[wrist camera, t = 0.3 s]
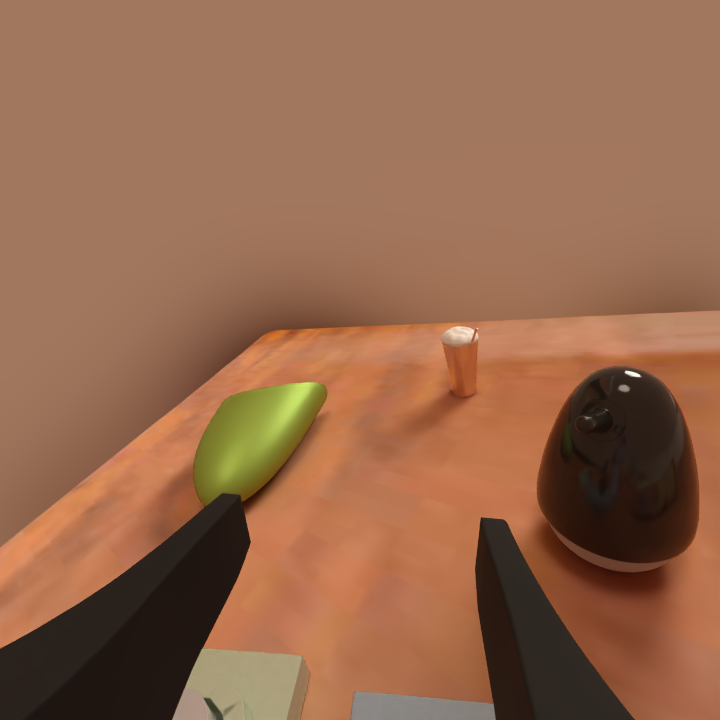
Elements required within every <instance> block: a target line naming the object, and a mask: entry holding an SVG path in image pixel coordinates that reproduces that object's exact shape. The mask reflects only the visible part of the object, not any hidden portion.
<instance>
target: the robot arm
mask: <svg viewBox="0 0 720 720" xmlns="http://www.w3.org/2000/svg"><path fill="white" fill-rule="evenodd" d="M250 543H251V541H250V537H249V532H248V528H247V523H246V518H245V514H244V509H243V505H242V500H241V496H240V495H238V494H227V493H222V494H220V495H219V496H218V497H217V498H216V499H214V500H213V501H212V502H211V503H210V504H208V505H207V506H206V507H205V508H204V509H203V510H201V511H200V512H199V513H198V514H197V515H195V516H194V517H193V518H192V519H191V520H190V521H188V522H187V523H186V524H185V525H184V526H182V527H181V528H180V529H179V530H178V531H176V532H175V533H174V534H173V535H172V536H170V537H169V538H168V539H167V540H166V541H164V542H163V543H162V544H161V545H159V546H158V547H157V548H156V549H154V550H153V551H152V552H150V553H149V554H148V555H146V556H145V557H144V558H143V559H141V560H140V561H139V562H137V563H136V564H135V565H133V566H132V567H131V568H130V569H128V570H127V571H126V572H124V573H123V574H121V575H120V576H119V577H117V578H116V579H114V580H113V581H112V582H110V583H109V584H107V585H106V586H104V587H103V588H101V589H100V590H98V591H97V592H95V593H94V594H92V595H91V596H89V597H88V598H86V599H85V600H83V601H82V602H80V603H79V604H77V605H75V606H74V607H72V608H70V609H69V610H67V611H65V612H64V613H62V614H60V615H59V616H57V617H55V618H54V619H52V620H51V621H49V622H47V623H46V624H44V625H42V626H41V627H39V628H37V629H35V630H34V631H32V632H30V633H28V634H26V635H25V636H23V637H21V638H19V639H17V640H16V641H14V642H12V643H10V644H8V645H6V646H4V647H3V648H1V649H0V720H172V719H173V716H174V714H175V711H176V709H177V706H178V704H179V701H180V699H181V696H182V694H183V691H184V689H185V686H186V684H187V681H188V679H189V676H190V674H191V672H192V669H193V667H194V665H195V663H196V661H197V659H198V656H199V654H200V652H201V650H202V648H203V646H204V644H205V642H206V640H207V638H208V636H209V634H210V632H211V630H212V628H213V626H214V624H215V622H216V620H217V619H218V617H219V615H220V613H221V611H222V609H223V607H224V605H225V603H226V601H227V599H228V597H229V595H230V593H231V591H232V589H233V586H234V584H235V582H236V580H237V578H238V576H239V573H240V571H241V568H242V566H243V563H244V560H245V557H246V555H247V552H248V549H249V546H250ZM475 573H476V589H477V603H478V612H479V618H480V624H481V631H482V637H483V643H484V649H485V655H486V661H487V667H488V673H489V679H490V685H491V691H492V697H493V703H494V711H495V718H496V720H635V719H634V718H633V717H632V716H631V714H630V713H629V712H628V711H627V710H626V708H625V707H624V706H623V704H622V703H621V702H620V701H619V699H618V698H617V697H616V696H615V694H614V693H613V692H612V690H611V689H610V688H609V687H608V685H607V684H606V683H605V681H604V680H603V679H602V677H601V676H600V675H599V673H598V672H597V671H596V669H595V668H594V667H593V665H592V664H591V663H590V661H589V660H588V658H587V657H586V656H585V654H584V653H583V651H582V650H581V649H580V647H579V646H578V644H577V643H576V641H575V640H574V639H573V637H572V636H571V634H570V633H569V631H568V630H567V628H566V627H565V625H564V624H563V622H562V621H561V619H560V618H559V616H558V615H557V613H556V611H555V610H554V608H553V607H552V605H551V603H550V602H549V600H548V599H547V597H546V595H545V593H544V592H543V590H542V588H541V587H540V585H539V583H538V582H537V580H536V578H535V577H534V575H533V573H532V571H531V570H530V568H529V566H528V564H527V562H526V560H525V559H524V557H523V555H522V553H521V551H520V549H519V547H518V545H517V543H516V541H515V539H514V537H513V535H512V533H511V530H510V528H509V526H508V524H507V522H506V521H505V520H503V519H492V518H482V517H481V521H480V530H479V539H478V548H477V557H476V566H475Z"/></svg>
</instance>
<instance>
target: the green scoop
mask: <svg viewBox="0 0 720 720" xmlns="http://www.w3.org/2000/svg"><path fill="white" fill-rule="evenodd" d="M326 398H327V389H326V387H325V386H324V385H323V384H320V383H314V382H306V383H294V384H286V385H279V386H273V387H266V388H260V389H255V390H250V391H245V392H241V393H238V394H235V395H232V396H230V397H228V398H227V399H225V400H224V401H223V403H222V404H221V406H220V407H219V409H218V410H217V412H216V413H215V415H214V416H213V418H212V420H211V421H210V423H209V425H208V426H207V428H206V430H205V432H204V434H203V436H202V438H201V440H200V443H199V445H198V448H197V451H196V455H195V459H194V466H193V480H194V486H195V490H196V493H197V495H198V498H199V499H200V501H201V502H202V503H203V504H204V505H205V506H207V505H208V504H210V503H211V502H212V501H213V500H214V499H216V498H217V497H218V496H219V495H220V494H222V493H227V494H238V495H240V496H241V500H242V502H243V501H245V500H246V499H248V498H249V497H251V496H252V495H253V494H255V493H256V492H257V491H258V490H259V489H261V488H262V487H263V486H264V485H265V484H266V483H267V482H268V481H269V480H270V479H271V478H272V477H273V476H274V475H275V474H276V473H277V471H278V470H279V469H280V468H281V467H282V466H283V464H284V463H285V462H286V461H287V459H288V458H289V457H290V455H291V454H292V453H293V451H294V450H295V448H296V447H297V446H298V444H299V443H300V441H301V440H302V438H303V437H304V435H305V434H306V432H307V430H308V429H309V427H310V426H311V424H312V422H313V421H314V419H315V418H316V416H317V414H318V413H319V411H320V409H321V407H322V406H323V404H324V402H325V400H326Z"/></svg>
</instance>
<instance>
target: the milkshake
mask: <svg viewBox="0 0 720 720" xmlns="http://www.w3.org/2000/svg"><path fill="white" fill-rule="evenodd" d="M476 332H477V329H475V330H473V329H471V328H468V327H453V328H451V329H449V330H447V331H446V332H445V333H444V335H443V336H442V338H441V340H442V344H443V349H444V353H445V357H446V361H447V365H448V370H449V376H450V381H451V386H452V392H453V394H455V395H456V396H458V397H468V396H471V395H473V394H474V393H475V392H476V391H477V352H478V334H477V333H476Z"/></svg>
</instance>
